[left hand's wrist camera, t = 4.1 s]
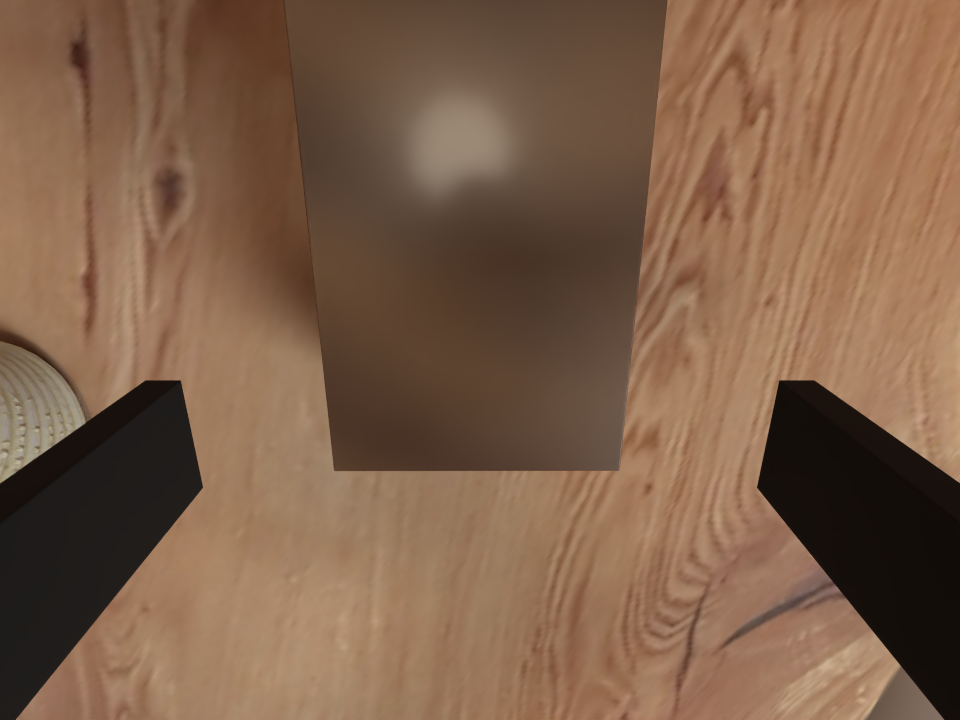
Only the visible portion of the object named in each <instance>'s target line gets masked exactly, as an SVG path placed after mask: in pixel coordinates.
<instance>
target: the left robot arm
mask: <svg viewBox="0 0 960 720" xmlns="http://www.w3.org/2000/svg"><path fill="white" fill-rule="evenodd" d="M202 488H203V485H202V481H201V476H200V471H199V466H198V461H197V457H196V452H195V447H194V442H193V437H192V433H191V428H190V423H189V418H188V413H187V409H186V404H185V399H184V394H183V389H182V385H181V381H144V382H143V383H141V384H140V385H139V386H137V387H136V388H134V389H133V390H132V391H130V392H129V393H127V394H126V395H124V396H123V397H122V398H120V399H119V400H117V401H116V402H115V403H113V404H112V405H110V406H109V407H107V408H106V409H105V410H103V411H102V412H100V413H99V414H98V415H96V416H95V417H93V418H92V419H90V420H89V421H88V422H86V423H85V424H83V425H82V426H81V427H79V428H78V429H76V430H75V431H73V432H72V433H71V434H69V435H68V436H66V437H65V438H64V439H62V440H61V441H59V442H58V443H56V444H55V445H54V446H52V447H51V448H49V449H48V450H47V451H45V452H44V453H42V454H41V455H39V456H38V457H37V458H35V459H34V460H32V461H31V462H30V463H28V464H27V465H25V466H24V467H22V468H21V469H20V470H18V471H17V472H15V473H14V474H13V475H11V476H10V477H8V478H7V479H6V480H4V481H3V482H1V483H0V720H16V719H17V717H18V716H19V715H20V714H21V712H22V711H23V710H24V709H25V707H26V706H27V705H28V704H29V702H30V701H31V700H32V699H33V698H34V696H35V695H36V694H37V693H38V691H39V690H40V689H41V688H42V686H43V685H44V684H45V683H46V681H47V680H48V679H49V678H50V676H51V675H52V674H53V673H54V672H55V670H56V669H57V668H58V667H59V665H60V664H61V663H62V662H63V660H64V659H65V658H66V657H67V655H68V654H69V653H70V652H71V650H72V649H73V648H74V647H75V645H76V644H77V643H78V642H79V641H80V639H81V638H82V637H83V636H84V634H85V633H86V632H87V631H88V629H89V628H90V627H91V626H92V624H93V623H94V622H95V621H96V619H97V618H98V617H99V616H100V615H101V613H102V612H103V611H104V610H105V608H106V607H107V606H108V605H109V603H110V602H111V601H112V600H113V598H114V597H115V596H116V595H117V593H118V592H119V591H120V590H121V589H122V587H123V586H124V585H125V584H126V582H127V581H128V580H129V579H130V577H131V576H132V575H133V574H134V572H135V571H136V570H137V569H138V567H139V566H140V565H141V564H142V562H143V561H144V560H145V559H146V558H147V556H148V555H149V554H150V553H151V551H152V550H153V549H154V548H155V546H156V545H157V544H158V543H159V541H160V540H161V539H162V538H163V536H164V535H165V534H166V533H167V532H168V530H169V529H170V528H171V527H172V525H173V524H174V523H175V522H176V520H177V519H178V518H179V517H180V515H181V514H182V513H183V512H184V510H185V509H186V508H187V507H188V506H189V504H190V503H191V502H192V501H193V499H194V498H195V497H196V496H197V494H198V493H199V492H200V491H201V489H202ZM757 488H758V489H759V491H760V492H761V493H762V494H763V496H764V497H765V498H766V499H767V501H768V502H769V503H770V504H771V506H772V507H773V508H774V509H775V510H776V512H777V513H778V514H779V515H780V517H781V518H782V519H783V520H784V522H785V523H786V524H787V525H788V527H789V528H790V529H791V530H792V532H793V533H794V534H795V535H796V536H797V538H798V539H799V540H800V541H801V543H802V544H803V545H804V546H805V548H806V549H807V550H808V551H809V553H810V554H811V555H812V556H813V558H814V559H815V560H816V561H817V562H818V564H819V565H820V566H821V567H822V569H823V570H824V571H825V572H826V574H827V575H828V576H829V577H830V579H831V580H832V581H833V582H834V584H835V585H836V586H837V587H838V589H839V590H840V591H841V592H842V593H843V595H844V596H845V597H846V598H847V600H848V601H849V602H850V603H851V605H852V606H853V607H854V608H855V610H856V611H857V612H858V613H859V615H860V616H861V617H862V618H863V619H864V621H865V622H866V623H867V624H868V626H869V627H870V628H871V629H872V631H873V632H874V633H875V634H876V636H877V637H878V638H879V639H880V641H881V642H882V643H883V644H884V645H885V647H886V648H887V649H888V650H889V652H890V653H891V654H892V655H893V657H894V658H895V659H896V660H897V662H898V663H899V664H900V665H901V667H902V668H903V669H904V670H905V671H906V673H907V674H908V675H909V676H910V678H911V679H912V680H913V681H914V683H915V684H916V685H917V686H918V688H919V689H920V690H921V691H922V693H923V694H924V695H925V696H926V697H927V699H928V700H929V701H930V702H931V704H932V705H933V706H934V707H935V709H936V710H937V711H938V712H939V714H940V715H941V716H942V717H943V719H944V720H960V483H959V482H957V481H956V480H954V479H953V478H952V477H950V476H949V475H947V474H946V473H945V472H943V471H942V470H940V469H939V468H938V467H936V466H935V465H933V464H932V463H930V462H929V461H928V460H926V459H925V458H923V457H922V456H921V455H919V454H918V453H916V452H915V451H913V450H912V449H911V448H909V447H908V446H906V445H905V444H904V443H902V442H901V441H899V440H898V439H896V438H895V437H894V436H892V435H891V434H889V433H888V432H887V431H885V430H884V429H882V428H881V427H879V426H878V425H877V424H875V423H874V422H872V421H871V420H870V419H868V418H867V417H865V416H864V415H862V414H861V413H860V412H858V411H857V410H855V409H854V408H853V407H851V406H850V405H848V404H847V403H845V402H844V401H843V400H841V399H840V398H838V397H837V396H836V395H834V394H833V393H831V392H830V391H828V390H827V389H826V388H824V387H823V386H821V385H820V384H819V383H817V382H816V381H779V385H778V389H777V394H776V399H775V404H774V409H773V413H772V418H771V423H770V428H769V433H768V437H767V442H766V447H765V452H764V457H763V461H762V466H761V471H760V476H759V481H758V485H757Z"/></svg>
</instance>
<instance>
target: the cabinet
mask: <svg viewBox="0 0 960 720" xmlns="http://www.w3.org/2000/svg"><path fill="white" fill-rule="evenodd" d="M284 8H285V18H286V27H287V36H288V46H289V55H290V64H291V74H292V83H293V92H294V101H295V111H296V120H297V129H298V139H299V148H300V157H301V166H302V176H303V185H304V194H305V204H306V213H307V222H308V231H309V241H310V250H311V259H312V269H313V278H314V287H315V296H316V306H317V315H318V324H319V334H320V343H321V352H322V361H323V371H324V380H325V389H326V399H327V408H328V417H329V426H330V436H331V445H332V454H333V464H334V470H335V471H611V470H619V469H620V460H621V450H622V441H623V431H624V421H625V411H626V401H627V392H628V382H629V372H630V362H631V352H632V342H633V333H634V323H635V313H636V303H637V293H638V284H639V274H640V264H641V254H642V244H643V235H644V225H645V215H646V205H647V195H648V185H649V176H650V166H651V156H652V146H653V136H654V127H655V117H656V107H657V97H658V87H659V77H660V68H661V58H662V48H663V38H664V28H665V19H666V9H667V0H284Z"/></svg>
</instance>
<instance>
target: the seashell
mask: <svg viewBox="0 0 960 720" xmlns="http://www.w3.org/2000/svg"><path fill="white" fill-rule="evenodd" d="M85 423H86V421H85V417H84V413H83V410H82V408H81V406H80V403H79V401H78V399H77V397H76V396H75V394H74V393H73V391H72V389H71V387H70V386H69V385H68V383H67V382H66V381H65V380H64V378H63V377H62V376H61V375H60V374H59V373H58V372H57V371H56V370H55V369H54V368H53V367H51V366H50V365H49V364H48V363H46V362H45V361H44V360H42V359H41V358H40V357H38V356H37V355H35V354H33V353H31V352H29V351H27V350H25V349H23V348H21V347H18V346H15V345H12V344H9V343H5V342H2V341H0V483H1V482H3V481H4V480H6V479H7V478H8V477H10V476H11V475H13V474H14V473H15V472H17V471H18V470H20V469H21V468H22V467H24V466H25V465H27V464H28V463H30V462H31V461H32V460H34V459H35V458H37V457H38V456H39V455H41V454H42V453H44V452H45V451H47V450H48V449H49V448H51V447H52V446H54V445H55V444H56V443H58V442H59V441H61V440H62V439H64V438H65V437H66V436H68V435H69V434H71V433H72V432H73V431H75V430H76V429H78V428H79V427H81V426H82V425H83V424H85Z"/></svg>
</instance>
